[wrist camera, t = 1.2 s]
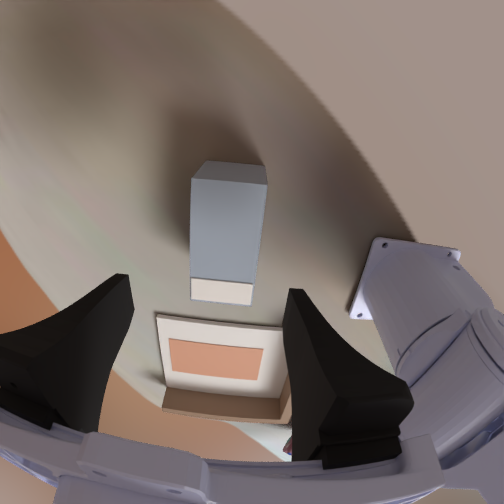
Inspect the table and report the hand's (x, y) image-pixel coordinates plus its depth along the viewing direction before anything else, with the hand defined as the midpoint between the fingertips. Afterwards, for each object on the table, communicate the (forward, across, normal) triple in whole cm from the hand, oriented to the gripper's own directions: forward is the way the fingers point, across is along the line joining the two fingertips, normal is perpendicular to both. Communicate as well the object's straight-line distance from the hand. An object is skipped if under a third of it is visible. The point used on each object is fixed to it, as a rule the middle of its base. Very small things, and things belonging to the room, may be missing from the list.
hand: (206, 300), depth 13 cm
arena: (+10, -1, +16) cm, 19 cm away
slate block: (+10, 0, 0) cm, 10 cm away
